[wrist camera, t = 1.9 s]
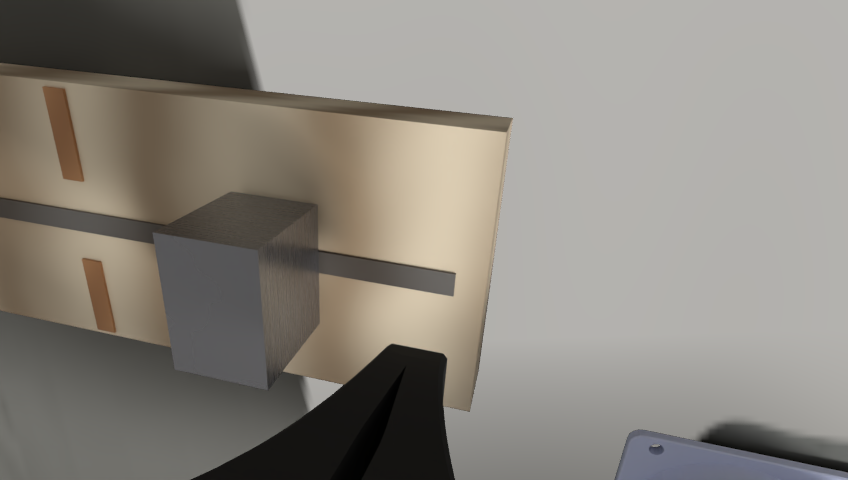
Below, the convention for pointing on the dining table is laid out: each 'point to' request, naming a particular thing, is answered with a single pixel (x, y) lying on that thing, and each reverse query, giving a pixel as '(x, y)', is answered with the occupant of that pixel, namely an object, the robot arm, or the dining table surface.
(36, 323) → the dining table surface
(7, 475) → the dining table surface
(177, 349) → the fader tab
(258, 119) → the board
